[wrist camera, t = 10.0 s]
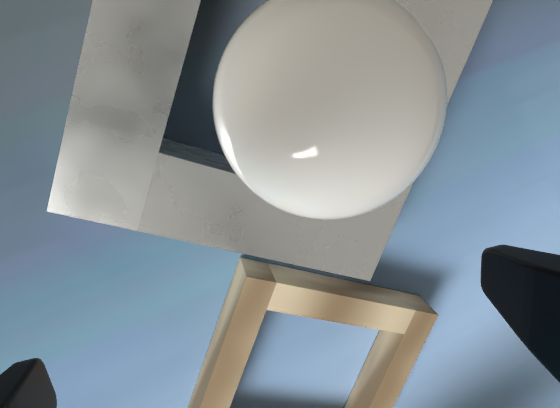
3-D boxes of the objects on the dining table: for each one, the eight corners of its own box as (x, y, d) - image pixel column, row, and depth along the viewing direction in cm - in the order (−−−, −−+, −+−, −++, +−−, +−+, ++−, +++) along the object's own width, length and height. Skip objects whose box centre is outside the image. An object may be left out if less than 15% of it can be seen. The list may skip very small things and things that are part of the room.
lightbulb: (311, -22, 19) (485, -83, 9) (350, 119, 21) (516, 198, 11) (168, 31, 18) (178, 31, 8) (226, 170, 21) (287, 300, 11)
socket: (459, -21, 20) (505, -30, 17) (346, 253, 24) (370, 281, 21) (146, -182, 16) (142, -228, 13) (63, 186, 19) (46, 211, 16)
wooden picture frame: (419, 295, 26) (438, 314, 24) (349, 442, 29) (361, 470, 27) (239, 257, 22) (246, 276, 20) (179, 429, 25) (181, 460, 23)
